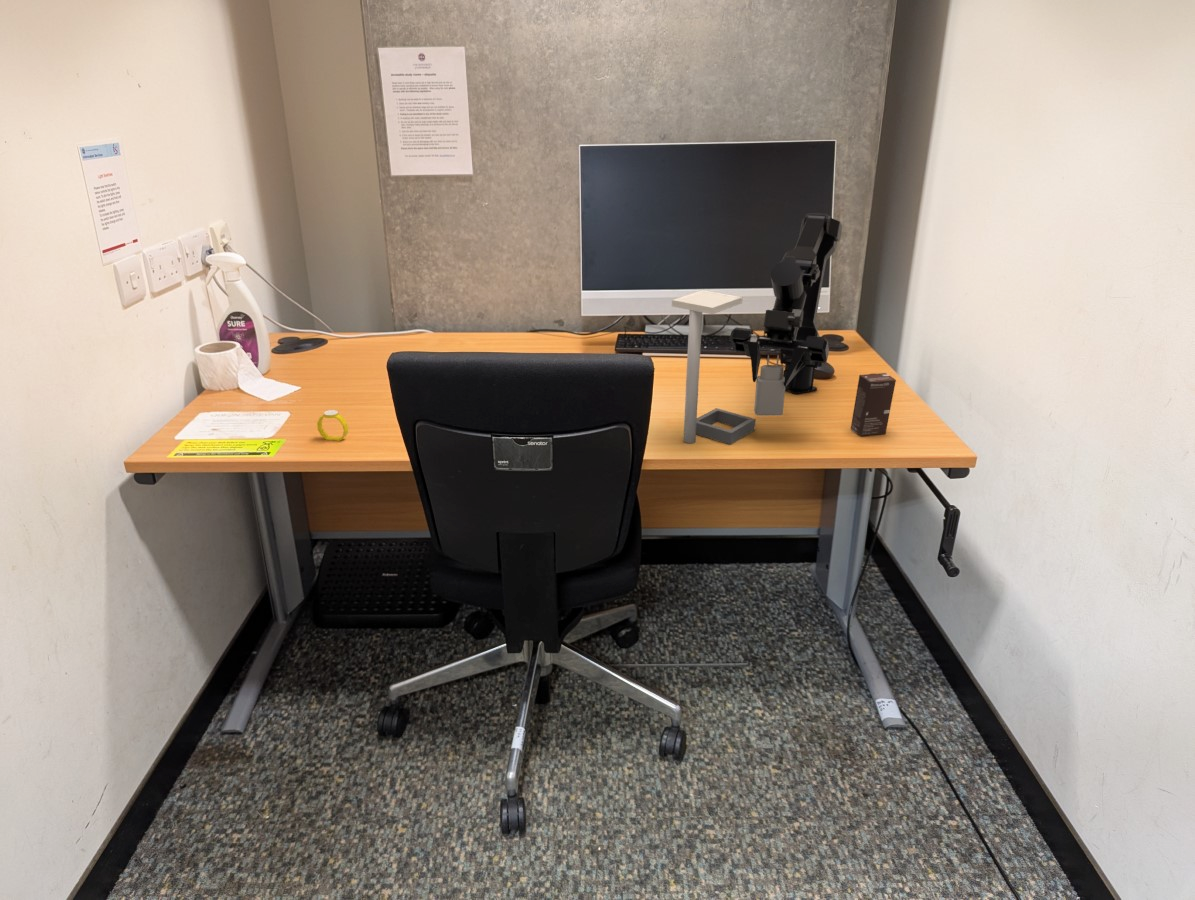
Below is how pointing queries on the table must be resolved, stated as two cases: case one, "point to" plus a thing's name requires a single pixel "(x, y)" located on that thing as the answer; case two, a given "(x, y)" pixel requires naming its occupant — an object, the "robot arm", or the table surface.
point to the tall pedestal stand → (702, 424)
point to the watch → (332, 415)
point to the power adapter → (770, 390)
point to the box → (872, 404)
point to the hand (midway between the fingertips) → (769, 383)
